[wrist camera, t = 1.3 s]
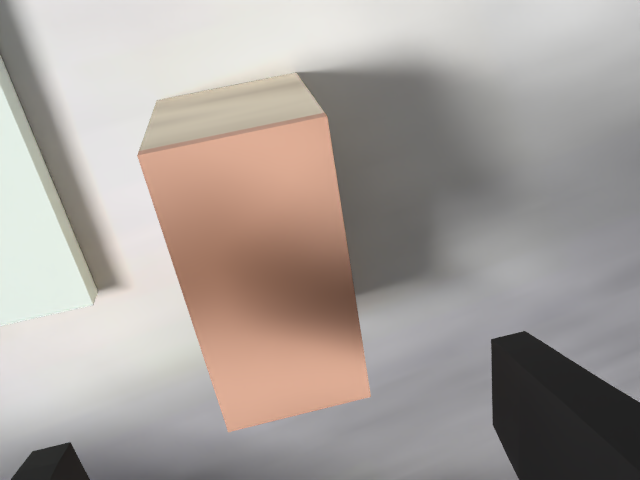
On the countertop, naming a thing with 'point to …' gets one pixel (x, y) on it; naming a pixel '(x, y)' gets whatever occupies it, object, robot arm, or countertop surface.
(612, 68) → the countertop surface
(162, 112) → the maple block
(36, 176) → the mat
